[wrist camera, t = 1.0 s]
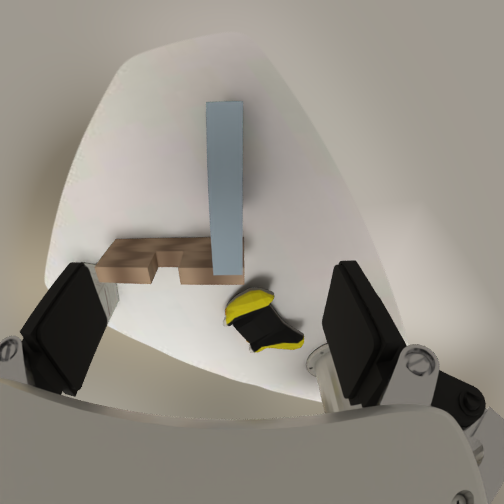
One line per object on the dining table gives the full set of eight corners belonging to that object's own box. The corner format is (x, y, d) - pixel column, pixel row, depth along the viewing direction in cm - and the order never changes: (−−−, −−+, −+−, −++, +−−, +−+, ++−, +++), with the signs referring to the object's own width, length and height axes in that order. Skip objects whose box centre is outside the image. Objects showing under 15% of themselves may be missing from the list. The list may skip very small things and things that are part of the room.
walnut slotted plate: (243, 237, 39) (244, 267, 33) (243, 252, 41) (244, 284, 34) (115, 239, 39) (94, 267, 32) (118, 253, 40) (99, 282, 33)
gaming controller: (265, 270, 43) (212, 297, 45) (268, 292, 38) (210, 319, 40) (304, 325, 49) (258, 345, 52) (309, 347, 45) (259, 367, 47)
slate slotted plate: (241, 207, 37) (242, 274, 23) (223, 208, 37) (213, 275, 23) (242, 105, 30) (242, 101, 16) (221, 105, 30) (206, 102, 16)
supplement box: (86, 293, 44) (58, 341, 33) (80, 260, 40) (44, 307, 29) (120, 301, 45) (96, 353, 34) (116, 267, 41) (85, 318, 30)
